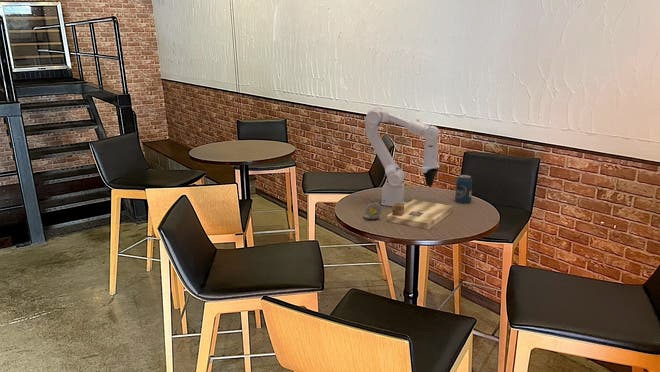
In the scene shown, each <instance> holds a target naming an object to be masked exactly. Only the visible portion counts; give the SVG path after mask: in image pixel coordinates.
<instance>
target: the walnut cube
mask: <svg viewBox="0 0 660 372" xmlns="http://www.w3.org/2000/svg"><path fill="white" fill-rule="evenodd" d="M391 213H392V215H397V216H402V215H403V214H404V204H403V203H394V204H393V207H392V212H391Z"/></svg>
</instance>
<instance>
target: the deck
mask: <svg viewBox="0 0 660 372" xmlns="http://www.w3.org/2000/svg"><path fill="white" fill-rule="evenodd" d="M453 209H454V206H453V205H451V204H450V205H448V204H444V203H443V204H442V203H436V202H431V201H426V200H420V199H414V198H413V199H412V200H411V201H409V202H407V204H405V205H404V214H403V215H402V216H397V215H392V212H391V213H389V214H388V215H386V221H387V222H389V223H394V224H398V225H404V226H409V227H412V228H413V227H414V228H419V229H425V230H428V231H429V230H430V229H431V228H433V227H434V226H435V225H437V224H439V222H441V221H442V220H444V218H445V219H446V217H447V216H448V215H450V214H451V213H453ZM412 212H418V213H419V217H418V216H413V215H411V213H412Z"/></svg>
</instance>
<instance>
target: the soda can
mask: <svg viewBox="0 0 660 372" xmlns="http://www.w3.org/2000/svg"><path fill="white" fill-rule="evenodd" d="M472 189H473V178H472V176H471V175H469V174H459V175H458V176H457V177H456V182H455V198H454V199H455V201H456V203H459V204H466V205H467V204H469V203H470V202H471V200H472Z"/></svg>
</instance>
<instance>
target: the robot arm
mask: <svg viewBox="0 0 660 372" xmlns="http://www.w3.org/2000/svg"><path fill="white" fill-rule="evenodd" d="M420 120H421V119H419V118H416V119H415V118H414V119H407V118H405V117H403V116H402V115H398V114H397V113H395V112H392V111H390V110H388V109H384V108H381V107H374V108H373V109H370V110H369V111H368V112H367V114H366V116H365V118H364V124H365V126H364V127H365V129H364V130H365V131H364V134H365V136H366V137H367V139H368V141H369V143H370V144H371V146H372V148H373V149H374V151H375V153H376V155H377V157H378V159H379V161H380V162H381V164H382V166H383V168H384V172H385V175H386V178H387V183H384V184H383V186H382V188H381V202H380V206H381V205H382V206H388V207H392V208H393V204H394V203H403V204H404V205H405V204H407V203H408V202H407V201H404V200H405V183H404V182H403V181H404V180H405V177H406V174H405V172H404V170H403V169H402V168H401V167H400V166H399V165H398V164H397V163H396V162H395V159H393V157H392V155H391V153H390V151H389V149H388V148H387V146H386V144H385V143H384V141H383V139H382V137H381V135H380V133H379V132H378V130H379V128H380V125H381V123H386V122H391V123H393V124H397V125H398V126H402V127H404V128H406V129H407V130H408V132H409V133H412V134H414V135H416V136H419V137H422V138H424V147H423V149H424V153H423V164H422V167H421V170H420V172H421V174H423V176H424V179H425V184H426V186H428V187H432V186H433V184H434V180H435V177H436V175H437V173H438V171H439V168H440V166H441V165H439V164H440V162H439V161H438V157H439V156H438V155H439V153H438V152H439V136H440V130H439V128H438V127H437V126H435V125H431V124H430V123H425V122H422V121H420Z"/></svg>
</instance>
